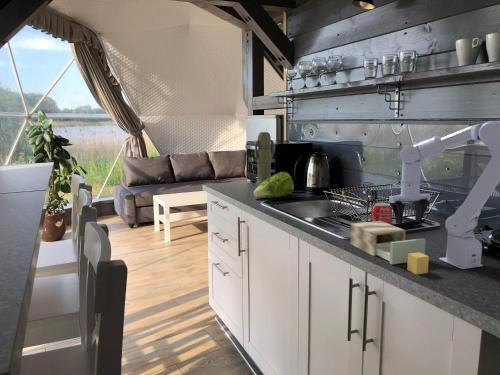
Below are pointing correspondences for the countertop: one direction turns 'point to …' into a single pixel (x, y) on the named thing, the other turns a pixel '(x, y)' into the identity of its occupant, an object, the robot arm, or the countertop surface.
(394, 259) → the pale green drawer
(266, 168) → the thermos
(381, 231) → the beige wooden rectangular box
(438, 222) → the countertop surface
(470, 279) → the countertop surface
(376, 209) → the soda can
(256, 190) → the lettuce
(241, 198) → the countertop surface
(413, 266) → the block
